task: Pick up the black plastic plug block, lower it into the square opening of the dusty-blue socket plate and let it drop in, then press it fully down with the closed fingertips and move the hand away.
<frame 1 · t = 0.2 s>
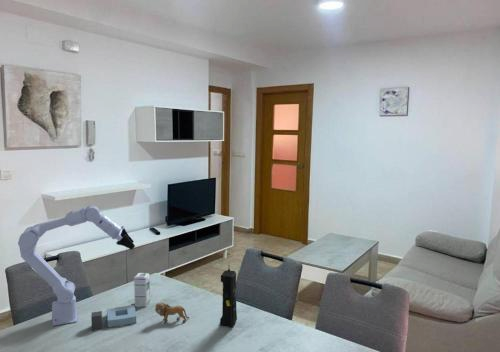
hand: (132, 245, 172), 31 cm above the table, tool tilted 45°, fingers open, 7 cm apart
syrup box: (142, 304, 183), on the table
plug: (97, 327, 161), on the table
socket plate: (121, 319, 168), on the table
lion figurine: (171, 322, 167), on the table
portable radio: (228, 324, 166), on the table
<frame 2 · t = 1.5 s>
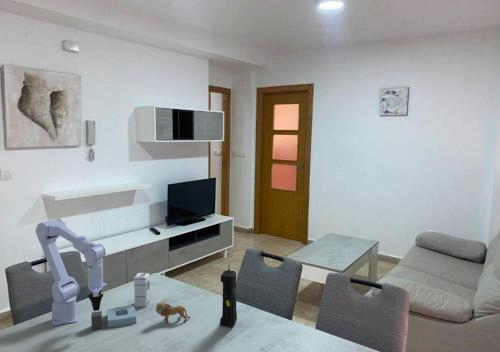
hand: (96, 306, 160), 9 cm above the table, tool pointing down, fingers open, 7 cm apart
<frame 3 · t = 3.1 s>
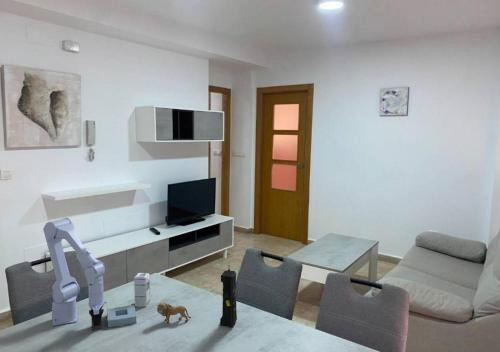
hand: (96, 323, 160), 2 cm above the table, tool pointing down, fingers closed on plug, 4 cm apart
plug: (97, 327, 161), on the table, touching gripper
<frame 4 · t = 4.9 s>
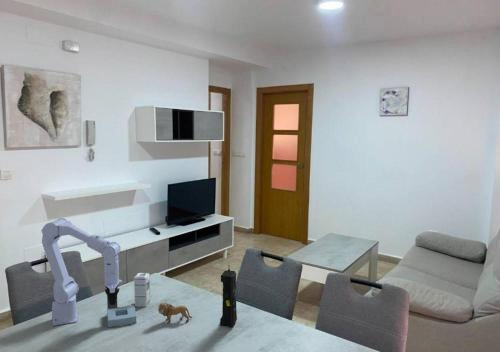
hand: (112, 302, 164), 9 cm above the table, tool pointing down, fingers closed on plug, 4 cm apart
plug: (112, 306, 164), point 7 cm above the table, touching gripper
when the fingers open (4 cm above the table, at t = 6.5 s): plug drops 2 cm, resting in socket plate.
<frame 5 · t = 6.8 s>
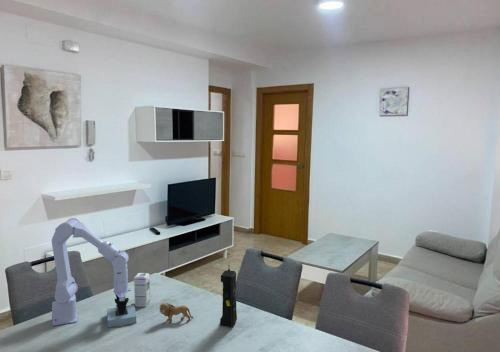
hand: (121, 309, 168), 4 cm above the table, tool pointing down, fingers open, 7 cm apart
plug: (121, 319, 168), resting in socket plate
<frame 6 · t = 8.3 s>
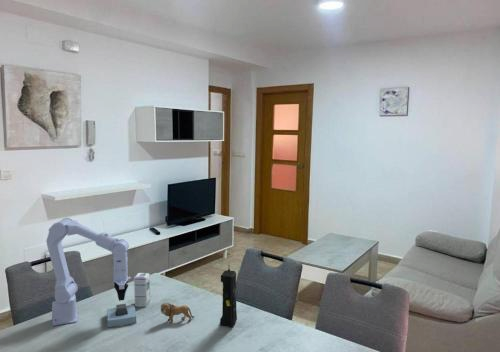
hand: (121, 298, 167), 9 cm above the table, tool pointing down, fingers closed
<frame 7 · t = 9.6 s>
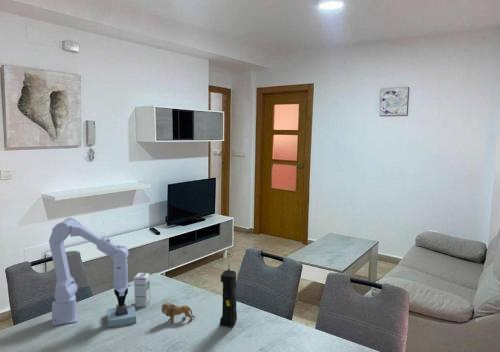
hand: (121, 305, 167), 6 cm above the table, tool pointing down, fingers closed
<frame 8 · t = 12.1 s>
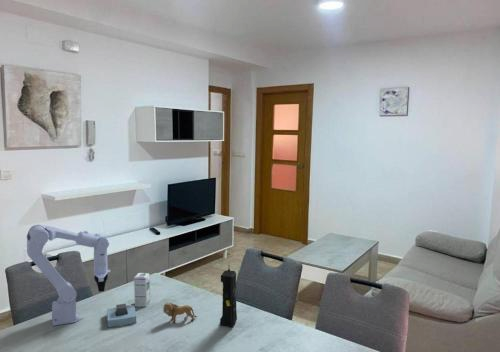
hand: (101, 291, 174), 9 cm above the table, tool pointing down, fingers closed
at the end: plug 0.1 cm off-centre on the socket plate, point 0.0 cm above the socket plate's base; plug tilted 0°; the gripper is holding nothing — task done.
